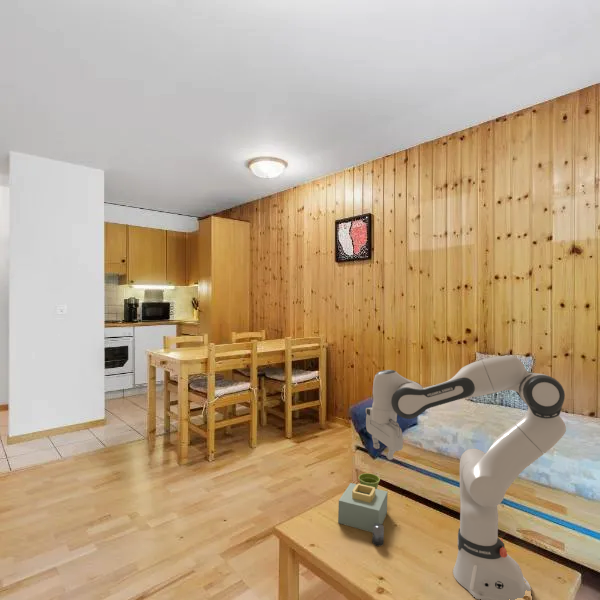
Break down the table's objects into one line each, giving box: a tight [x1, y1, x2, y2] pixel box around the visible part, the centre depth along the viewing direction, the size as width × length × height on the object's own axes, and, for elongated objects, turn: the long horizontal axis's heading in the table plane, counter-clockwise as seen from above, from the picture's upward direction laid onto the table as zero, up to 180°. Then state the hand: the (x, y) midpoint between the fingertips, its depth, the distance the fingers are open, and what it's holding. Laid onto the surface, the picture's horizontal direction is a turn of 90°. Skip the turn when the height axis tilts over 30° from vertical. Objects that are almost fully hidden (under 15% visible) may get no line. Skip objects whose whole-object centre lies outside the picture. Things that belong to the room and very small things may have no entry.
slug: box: [371, 523, 385, 547], centre depth 142 cm, size 4×4×6 cm
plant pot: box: [358, 472, 381, 489], centre depth 174 cm, size 9×9×9 cm
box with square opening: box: [337, 482, 389, 534], centre depth 158 cm, size 16×16×12 cm
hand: (382, 453), depth 140 cm, fingers open, 8 cm apart
